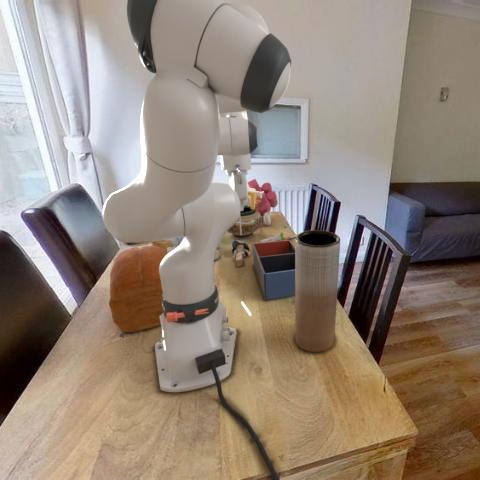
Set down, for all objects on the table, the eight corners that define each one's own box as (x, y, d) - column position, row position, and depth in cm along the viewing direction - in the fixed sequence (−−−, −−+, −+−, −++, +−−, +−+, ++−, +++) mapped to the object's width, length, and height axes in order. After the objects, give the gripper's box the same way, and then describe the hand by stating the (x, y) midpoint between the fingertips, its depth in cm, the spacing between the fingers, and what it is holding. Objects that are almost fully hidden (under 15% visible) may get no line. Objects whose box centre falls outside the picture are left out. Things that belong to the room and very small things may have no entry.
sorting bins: (308, 293, 98) (309, 268, 95) (264, 300, 94) (263, 274, 90) (290, 261, 119) (290, 239, 116) (253, 265, 115) (252, 243, 111)
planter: (325, 323, 84) (329, 228, 74) (340, 347, 76) (348, 243, 65) (290, 331, 81) (289, 232, 70) (302, 357, 72) (303, 248, 62)
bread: (174, 276, 105) (167, 233, 99) (184, 320, 84) (176, 268, 78) (119, 287, 98) (107, 241, 92) (114, 338, 76) (99, 282, 70)
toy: (264, 238, 169) (288, 226, 172) (256, 219, 141) (285, 205, 143) (241, 197, 176) (265, 185, 178) (229, 170, 147) (257, 157, 150)
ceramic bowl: (224, 233, 151) (213, 205, 144) (258, 221, 156) (249, 193, 149) (232, 253, 130) (220, 221, 123) (272, 238, 135) (262, 207, 128)
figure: (214, 200, 139) (213, 180, 136) (251, 197, 149) (252, 178, 146) (227, 212, 126) (227, 190, 123) (267, 208, 136) (268, 187, 133)
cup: (256, 237, 121) (294, 230, 123) (258, 236, 129) (293, 230, 131) (260, 257, 122) (297, 250, 124) (262, 254, 130) (297, 248, 131)
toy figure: (254, 265, 116) (248, 247, 128) (251, 250, 113) (245, 234, 126) (234, 269, 114) (231, 251, 127) (231, 254, 111) (228, 238, 124)
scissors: (304, 233, 147) (304, 230, 146) (280, 249, 129) (280, 245, 129) (290, 231, 150) (290, 228, 149) (265, 246, 132) (265, 242, 132)
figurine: (217, 236, 141) (216, 224, 138) (171, 257, 120) (169, 243, 118) (196, 230, 146) (194, 218, 143) (148, 249, 125) (146, 236, 123)
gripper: (251, 167, 85) (254, 216, 90) (242, 158, 102) (245, 199, 108) (227, 168, 83) (231, 217, 88) (223, 159, 100) (226, 200, 106)
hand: (239, 207), depth 98 cm, fingers closed on lollipop, 5 cm apart
